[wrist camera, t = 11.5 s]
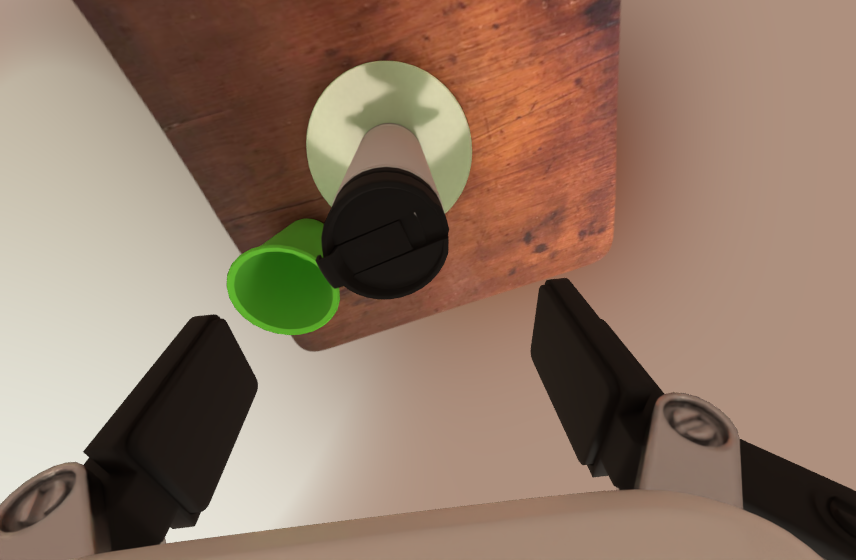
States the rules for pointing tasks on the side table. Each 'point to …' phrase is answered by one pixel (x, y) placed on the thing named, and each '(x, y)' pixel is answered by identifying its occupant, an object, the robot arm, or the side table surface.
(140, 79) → the side table surface
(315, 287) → the cup
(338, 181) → the trivet
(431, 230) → the travel mug
